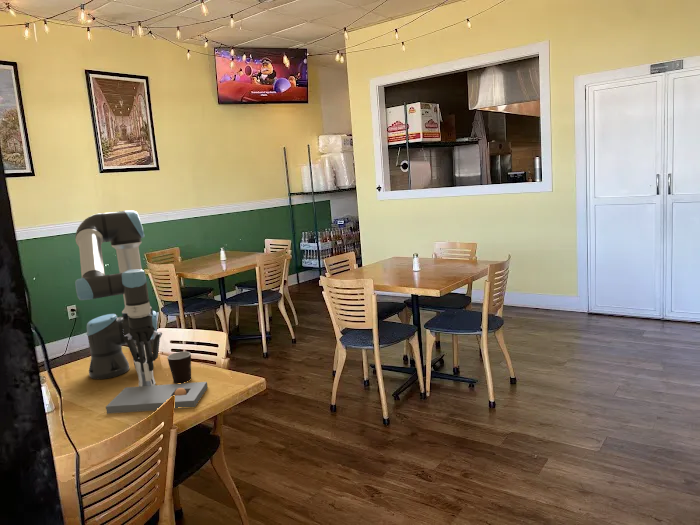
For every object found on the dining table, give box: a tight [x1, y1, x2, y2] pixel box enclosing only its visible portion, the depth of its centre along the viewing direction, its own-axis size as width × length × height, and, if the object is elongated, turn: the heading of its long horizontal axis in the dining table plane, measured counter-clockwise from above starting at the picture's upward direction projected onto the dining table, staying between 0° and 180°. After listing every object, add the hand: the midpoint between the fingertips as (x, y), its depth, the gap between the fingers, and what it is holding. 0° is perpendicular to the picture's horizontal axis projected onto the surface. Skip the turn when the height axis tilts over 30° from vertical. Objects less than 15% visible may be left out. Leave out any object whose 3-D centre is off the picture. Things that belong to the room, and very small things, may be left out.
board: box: [105, 381, 209, 414], centre depth 191 cm, size 30×16×2 cm, turn 89°
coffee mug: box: [166, 351, 192, 384], centre depth 209 cm, size 12×9×10 cm
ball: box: [174, 388, 186, 396], centre depth 191 cm, size 4×4×4 cm
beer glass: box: [132, 345, 157, 387], centre depth 205 cm, size 7×7×15 cm
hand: (149, 379), depth 191 cm, fingers closed
